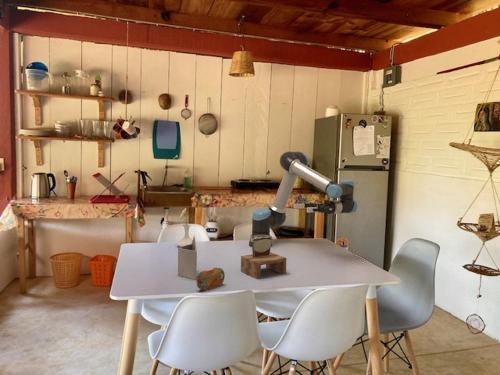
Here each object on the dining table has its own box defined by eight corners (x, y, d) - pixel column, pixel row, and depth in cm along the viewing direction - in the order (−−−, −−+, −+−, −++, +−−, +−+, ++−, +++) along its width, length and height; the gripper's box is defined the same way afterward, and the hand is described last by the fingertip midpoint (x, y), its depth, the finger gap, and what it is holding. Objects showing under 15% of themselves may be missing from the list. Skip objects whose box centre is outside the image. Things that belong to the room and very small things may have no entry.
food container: (265, 252, 211) (265, 233, 210) (272, 255, 205) (272, 236, 205) (245, 255, 204) (245, 235, 203) (251, 258, 199) (252, 238, 198)
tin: (199, 292, 171) (200, 273, 170) (194, 290, 173) (195, 271, 172) (224, 284, 182) (225, 266, 182) (220, 283, 184) (220, 265, 184)
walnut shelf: (240, 271, 203) (241, 256, 202) (268, 266, 213) (269, 251, 212) (257, 279, 191) (257, 262, 191) (285, 273, 202) (286, 257, 201)
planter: (176, 270, 202) (177, 232, 200) (192, 269, 204) (193, 232, 202) (179, 280, 186) (179, 239, 184) (196, 279, 188) (197, 239, 187)
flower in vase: (180, 244, 258) (181, 205, 256) (197, 245, 257) (198, 206, 254) (173, 248, 245) (174, 208, 243) (191, 250, 244) (192, 209, 241)
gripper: (345, 217, 220) (312, 218, 212) (319, 210, 243) (289, 211, 234) (346, 203, 220) (313, 204, 211) (320, 197, 242) (289, 198, 234)
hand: (300, 208), depth 223 cm, fingers open, 13 cm apart
